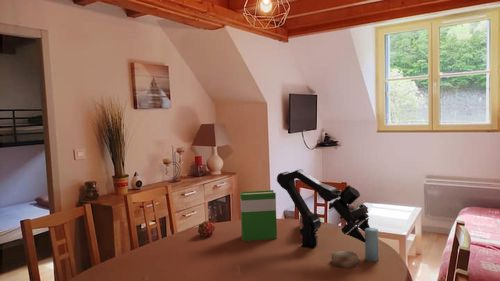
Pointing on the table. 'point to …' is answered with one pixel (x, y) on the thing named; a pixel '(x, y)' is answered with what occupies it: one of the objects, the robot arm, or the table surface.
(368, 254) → the blue-grey cylinder
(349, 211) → the robot arm
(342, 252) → the walnut base
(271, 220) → the hardback book
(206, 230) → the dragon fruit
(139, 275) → the table surface
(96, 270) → the table surface
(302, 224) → the stack of blocks
